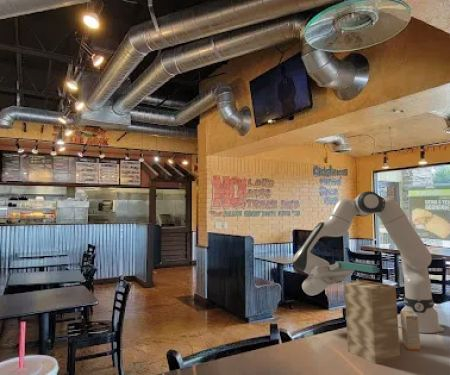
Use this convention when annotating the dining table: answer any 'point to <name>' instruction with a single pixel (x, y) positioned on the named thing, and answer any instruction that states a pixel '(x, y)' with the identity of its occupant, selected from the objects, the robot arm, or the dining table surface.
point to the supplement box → (410, 330)
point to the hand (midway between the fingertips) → (342, 263)
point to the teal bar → (358, 267)
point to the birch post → (372, 320)
